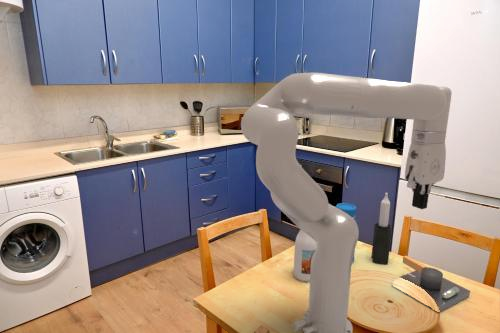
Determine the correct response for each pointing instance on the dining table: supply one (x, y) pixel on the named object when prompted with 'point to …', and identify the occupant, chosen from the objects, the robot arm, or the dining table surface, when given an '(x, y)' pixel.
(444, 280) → the base
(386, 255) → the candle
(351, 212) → the beverage bottle
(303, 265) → the milk bottle
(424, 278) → the grey rubber mallet
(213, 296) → the dining table surface
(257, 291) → the dining table surface
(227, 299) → the dining table surface
